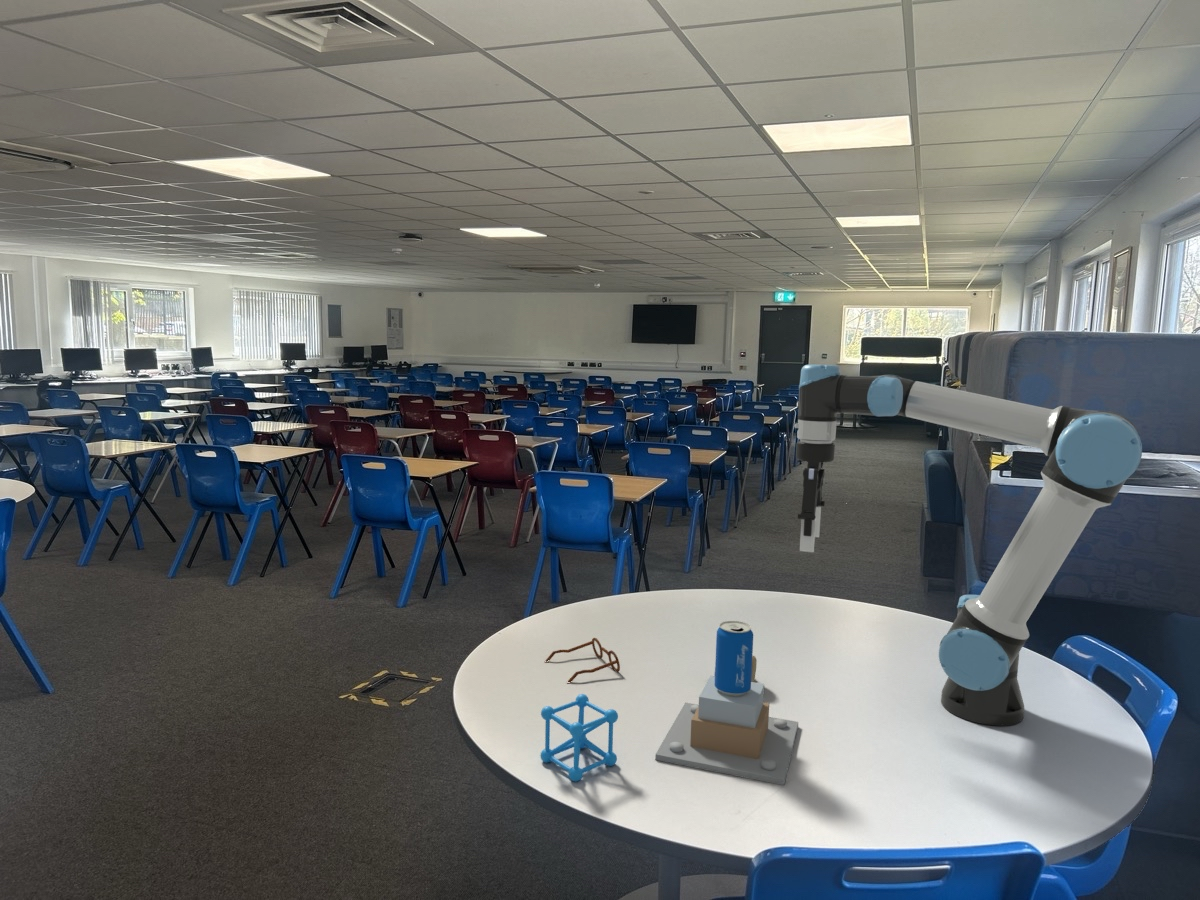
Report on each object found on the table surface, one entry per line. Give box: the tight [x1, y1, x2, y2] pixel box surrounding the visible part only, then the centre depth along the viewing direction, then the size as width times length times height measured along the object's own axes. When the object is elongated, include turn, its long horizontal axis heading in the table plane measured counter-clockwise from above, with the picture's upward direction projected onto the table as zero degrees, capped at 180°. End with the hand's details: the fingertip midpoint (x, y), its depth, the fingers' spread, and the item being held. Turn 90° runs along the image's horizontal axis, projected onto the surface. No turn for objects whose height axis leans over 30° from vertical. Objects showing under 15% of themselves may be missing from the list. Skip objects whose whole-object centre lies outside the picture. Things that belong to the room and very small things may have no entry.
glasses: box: [545, 637, 621, 683], centre depth 178 cm, size 13×13×5 cm
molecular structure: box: [539, 693, 619, 782], centre depth 137 cm, size 10×10×10 cm
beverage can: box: [714, 620, 754, 696], centre depth 144 cm, size 6×6×12 cm
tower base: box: [655, 675, 799, 786], centre depth 145 cm, size 22×22×10 cm
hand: (809, 543), depth 165 cm, fingers open, 13 cm apart
